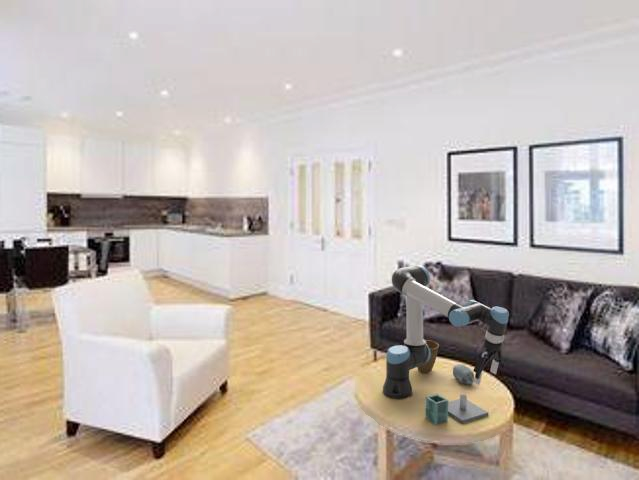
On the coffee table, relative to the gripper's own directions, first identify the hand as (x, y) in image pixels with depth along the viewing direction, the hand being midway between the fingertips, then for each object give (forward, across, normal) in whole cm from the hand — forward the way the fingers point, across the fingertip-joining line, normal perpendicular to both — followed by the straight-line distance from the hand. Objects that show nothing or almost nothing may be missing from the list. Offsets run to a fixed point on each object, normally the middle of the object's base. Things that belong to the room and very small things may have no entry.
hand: (485, 377), depth 207 cm
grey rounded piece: (+24, +18, +20) cm, 37 cm away
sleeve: (+15, -26, +6) cm, 30 cm away
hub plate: (+16, -10, +2) cm, 19 cm away
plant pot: (+29, +13, +42) cm, 52 cm away
